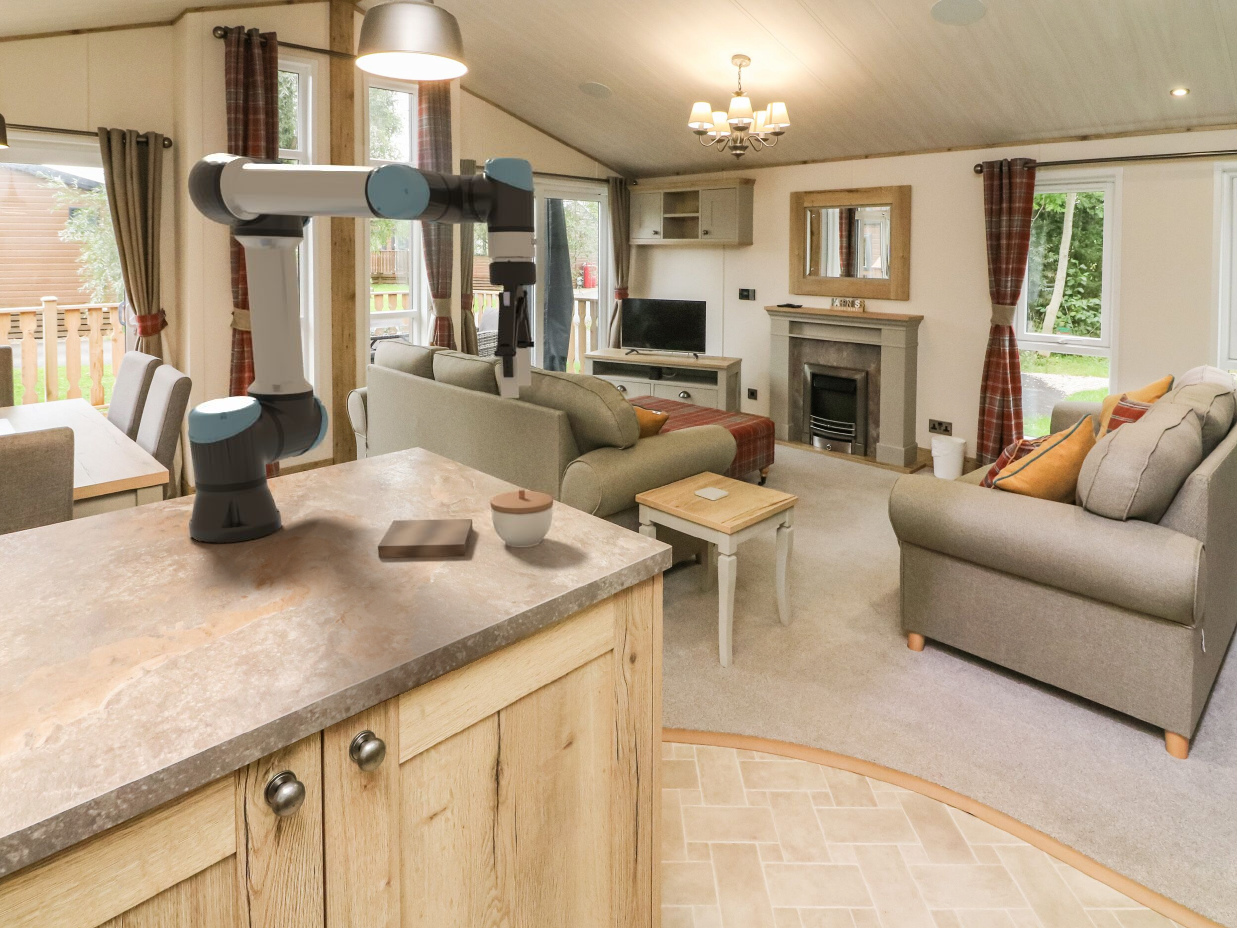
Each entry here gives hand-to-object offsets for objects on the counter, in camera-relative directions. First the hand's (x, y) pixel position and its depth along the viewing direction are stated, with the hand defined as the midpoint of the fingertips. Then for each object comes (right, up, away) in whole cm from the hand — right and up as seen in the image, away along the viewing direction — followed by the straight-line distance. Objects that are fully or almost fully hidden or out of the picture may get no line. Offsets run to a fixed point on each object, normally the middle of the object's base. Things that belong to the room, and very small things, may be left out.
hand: (517, 391), depth 139 cm
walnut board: (-16, -26, +5) cm, 31 cm away
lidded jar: (0, -26, +6) cm, 27 cm away
